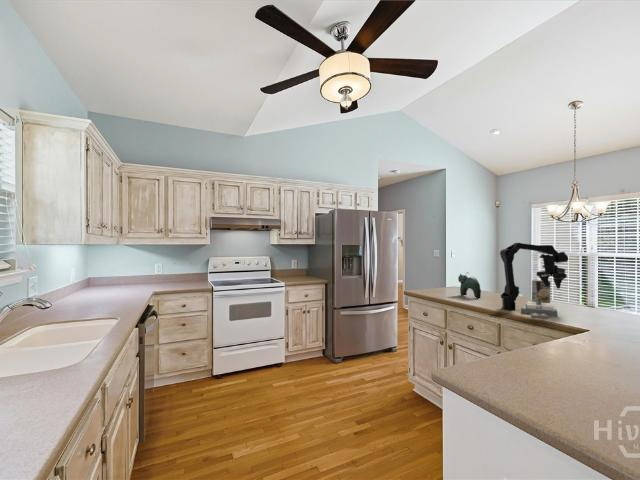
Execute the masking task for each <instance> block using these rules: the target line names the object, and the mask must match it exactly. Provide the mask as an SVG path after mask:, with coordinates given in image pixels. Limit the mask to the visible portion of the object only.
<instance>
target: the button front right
mask: <svg viewBox="0 0 640 480" xmlns="http://www.w3.org/2000/svg"><path fill="white" fill-rule="evenodd" d="M540 305H541V304H540ZM552 306H553V305H552V304H551V305H541V309H542V310H552Z"/></svg>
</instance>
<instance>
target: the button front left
mask: <svg viewBox="0 0 640 480" xmlns="http://www.w3.org/2000/svg"><path fill="white" fill-rule="evenodd" d="M526 304H527V303H526ZM537 305H538V304H527V308H531V309H537Z"/></svg>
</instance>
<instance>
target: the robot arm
mask: <svg viewBox="0 0 640 480" xmlns="http://www.w3.org/2000/svg"><path fill="white" fill-rule="evenodd" d="M519 250H526V251H534V252H537V253H540V254H541V255H539V256H538V258H540V259H542V263H543V265H542V268H543V269H544V270H541V271H537V272H536V276H537V277H538V278H539V279H540V281H543V283H544V284H545V285H546V287H548V286H549V283H548V281H549V278H550V277H552V278H553V282H554V284H555V286H556V289H557V290H559V289H560V288H561V285H562V281H563V280H564V279H566V278H567V277H568V276H567V273H566V272H565V271H566V268H562V267H558V265H556V264H560V263H567V262H568V261H569V256H568V255H567V254H566V252H565V251H559V252H558V251H557V250H556V249H555V247H554V246H553V245H551V244H540V245H539V244H538V245H537V244H530V243H521V242H514V243H513V244H511V245H510V246H507V247H506V248H504V249H501V250H500V251H499V254H500V259H501V260H502V262H503V266H504V277H505V286H504V288H503V289H504V290H503V292H502V294H500V298H501V300H502V301H501V303H502V305H501V307H502V308H501V309H503V310H507V311H516V310H517V309H516V300H517V299H518V296H519V294H520V287H519V286H516V284H515V283H516V282H515V277H514V276H515V275H514V267H513V265H514V264H513V263H514V262H513V261H514V259H515V255H516V254H517V253H518V252H519ZM555 263H556V264H555Z"/></svg>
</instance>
